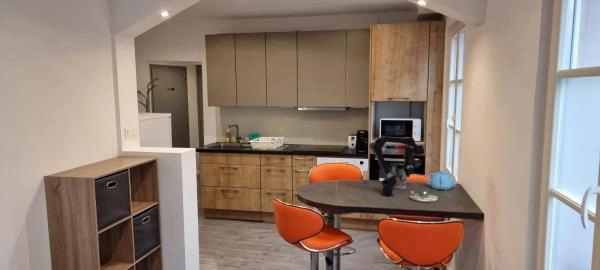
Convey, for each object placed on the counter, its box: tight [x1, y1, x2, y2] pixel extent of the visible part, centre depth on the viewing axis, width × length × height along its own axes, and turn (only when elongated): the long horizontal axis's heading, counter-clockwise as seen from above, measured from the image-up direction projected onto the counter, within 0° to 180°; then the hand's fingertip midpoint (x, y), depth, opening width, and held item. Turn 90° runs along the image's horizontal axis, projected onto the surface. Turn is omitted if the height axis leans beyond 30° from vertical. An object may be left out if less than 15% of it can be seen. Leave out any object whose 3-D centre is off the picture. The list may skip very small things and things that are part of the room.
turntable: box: [409, 190, 439, 203], centre depth 266 cm, size 18×18×4 cm
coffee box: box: [391, 165, 408, 190], centre depth 297 cm, size 9×6×16 cm
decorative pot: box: [427, 170, 457, 191], centre depth 295 cm, size 16×16×14 cm
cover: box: [418, 189, 430, 198], centre depth 265 cm, size 6×6×4 cm
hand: (408, 177), depth 278 cm, fingers closed
